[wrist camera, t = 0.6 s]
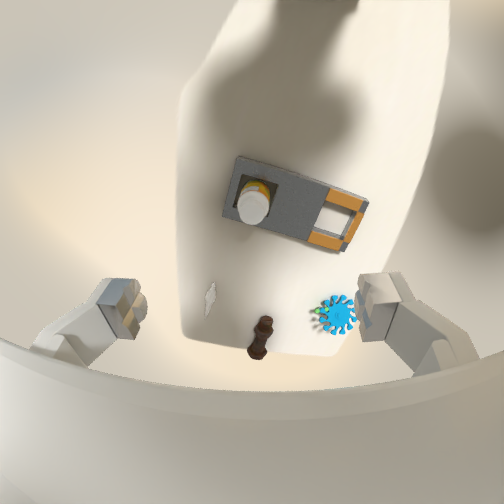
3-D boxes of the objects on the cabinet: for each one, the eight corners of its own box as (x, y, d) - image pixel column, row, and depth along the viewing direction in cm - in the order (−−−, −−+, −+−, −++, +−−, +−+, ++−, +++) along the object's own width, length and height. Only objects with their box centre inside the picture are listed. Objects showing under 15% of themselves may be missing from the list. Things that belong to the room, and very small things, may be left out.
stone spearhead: (209, 279, 64) (207, 284, 63) (220, 281, 64) (218, 287, 63) (201, 316, 73) (199, 321, 71) (210, 318, 73) (209, 324, 72)
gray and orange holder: (238, 156, 47) (236, 159, 45) (366, 198, 49) (369, 203, 47) (223, 212, 54) (221, 217, 52) (342, 246, 56) (344, 253, 54)
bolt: (270, 309, 71) (259, 343, 79) (253, 313, 68) (244, 347, 76) (281, 324, 66) (268, 358, 74) (263, 329, 64) (253, 362, 72)
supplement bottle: (271, 203, 52) (270, 227, 44) (244, 206, 53) (238, 230, 45) (267, 177, 49) (266, 196, 41) (239, 180, 50) (231, 201, 42)
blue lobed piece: (363, 300, 62) (352, 339, 60) (354, 301, 68) (344, 337, 66) (322, 288, 63) (310, 328, 61) (317, 289, 68) (305, 326, 67)
